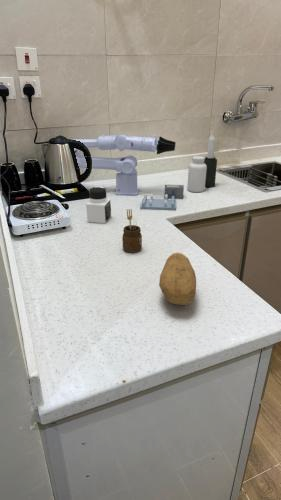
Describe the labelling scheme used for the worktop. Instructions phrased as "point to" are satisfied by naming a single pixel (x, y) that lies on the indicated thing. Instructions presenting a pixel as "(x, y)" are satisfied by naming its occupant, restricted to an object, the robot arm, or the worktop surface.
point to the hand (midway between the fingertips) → (175, 146)
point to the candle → (210, 163)
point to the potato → (178, 280)
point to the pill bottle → (197, 174)
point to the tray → (158, 203)
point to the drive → (174, 191)
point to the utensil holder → (132, 236)
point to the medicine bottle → (98, 206)
